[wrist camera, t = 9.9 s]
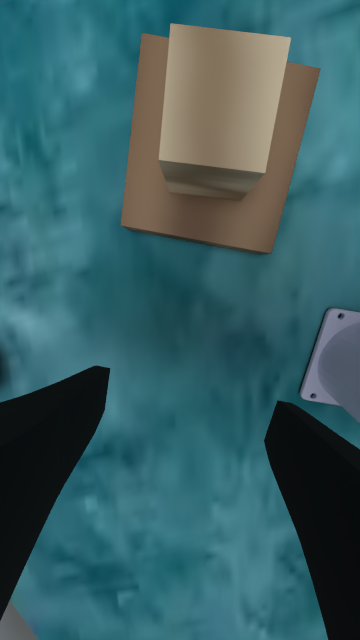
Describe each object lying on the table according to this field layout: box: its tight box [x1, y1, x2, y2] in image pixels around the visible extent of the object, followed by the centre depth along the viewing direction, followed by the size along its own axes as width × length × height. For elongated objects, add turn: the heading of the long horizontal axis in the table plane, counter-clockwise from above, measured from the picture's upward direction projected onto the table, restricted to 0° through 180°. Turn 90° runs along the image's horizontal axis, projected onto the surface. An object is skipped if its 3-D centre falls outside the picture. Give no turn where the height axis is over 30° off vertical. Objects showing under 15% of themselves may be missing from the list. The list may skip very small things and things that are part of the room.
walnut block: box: [121, 33, 320, 255], centre depth 16 cm, size 10×10×3 cm
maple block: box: [159, 24, 291, 201], centre depth 12 cm, size 4×4×5 cm
